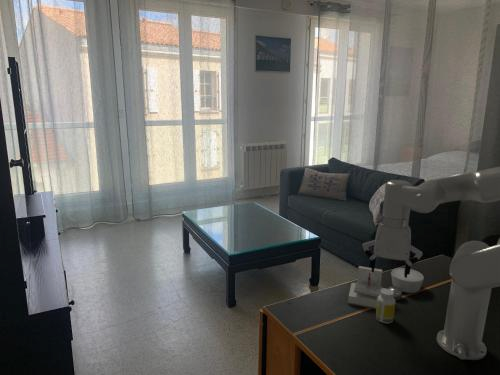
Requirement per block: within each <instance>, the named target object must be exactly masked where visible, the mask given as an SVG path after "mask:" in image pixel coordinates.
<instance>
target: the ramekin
mask: <svg viewBox="0 0 500 375" xmlns="http://www.w3.org/2000/svg"><path fill="white" fill-rule="evenodd" d="M404 271H405V267H398V268H394V269H393V270H391V272H390V275H391V276H390V277H391V283H392V286H396V287H399V288H401V289H402V292H403V293H408V294H412V293H413V294H414V293H417V292H419V291H420V289H421V287H422V285H423V282H424V280H425V277H424V275H423V274H422V273H421V272H420V271H418V270H414V269H412V268H410V275H409V274H407V278H405V277H404Z"/></svg>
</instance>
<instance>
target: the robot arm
mask: <svg viewBox="0 0 500 375" xmlns="http://www.w3.org/2000/svg"><path fill="white" fill-rule="evenodd" d="M383 195H384V196H383V205H382V214H381V215H377V216H376V220H378V221H380V222H379V223H378V226H377V229H376V234H375V239H373V240H369V241H367V242H363V243H362V245H361V246H362V248H363V251H364V253H365V255H366V256H367V258H369V261H370V262H369V268H372V272H374V268H375V265H376V258H377V257H378V258H382V259H389V260H397V261H405V264H404V268H405V271H404V277H405V278H407V274H409V275H410V269H412V268H411V267H412V266H413V265H414V264H415V263H417V262H419V260H420V259H421V257H422V256H423V251H421V250H420V249H418V248H416V247H415V246H413V245H411V244H412V243H411V241H412V240H411V239H412V230H411V227H410V226H409V221H410V214H411V211H413V212H417V213H421V214H429V213H430V212H433V211H434V210H435V209H436V208H437V207H438V206H439V205H440V204H445V203H449V202H457V201H464V200H467V201H468V200H470V201H476V202H478V203H484V204H486V203H494V202H498V201H500V166H496V167H492V168H491V167H490V168H486V169H481V170H476V171H470V172H466V173H464V172H463V173H458V174H453V175H449V176H448V175H447V176H442V177H438V178H433V179H430V180H426V181H424V182H422V183H420V184H419V185H416V186H414V185H413V184H412V183H411V182H409V181H407V180H402V179H391V180H388V181H387V182H386V183H385V186H384V194H383ZM373 246H374V247H373ZM369 247H373V251H371V250H370V249H369ZM410 253H413V254H414V256H412V257H410V255H411V254H410ZM449 275H450V278H451V283H450V290H449V294H448V302H447V308H446V312H445V313H446V315H445V322H444V329H443V330H439V331H438V332H437V335H436V343H437V344H438V345H439V347H441V349H443V350H444V351H445V352H447V353H448V354H450V355H452V356H454V357H457V358H459V359H460V360H467V361H468V360H470V361H478V360H482V359H484V357H486V355H487V347H486V345H485V343H484V342H483V338H484V337H483V336H484V332H485V325H486V320H487V314H488V309H489V308H488V307H489V304H490V298H491V293H492V289H493V288H497V287H500V237H499V239H498V241H497V243H496V244H495V245H492V246H489V244H487V243H486V242H483V241H479V240H470V241H466V242H464V243H463V244H461V245H460V246H459V247H458V249H457V250H456V251H455V253H454V256H453V258H452V260H451V262H450V265H449Z"/></svg>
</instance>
